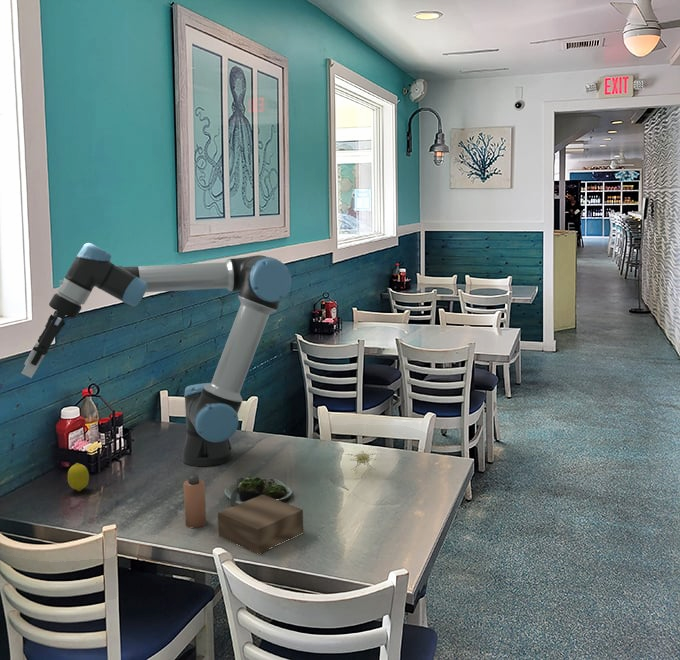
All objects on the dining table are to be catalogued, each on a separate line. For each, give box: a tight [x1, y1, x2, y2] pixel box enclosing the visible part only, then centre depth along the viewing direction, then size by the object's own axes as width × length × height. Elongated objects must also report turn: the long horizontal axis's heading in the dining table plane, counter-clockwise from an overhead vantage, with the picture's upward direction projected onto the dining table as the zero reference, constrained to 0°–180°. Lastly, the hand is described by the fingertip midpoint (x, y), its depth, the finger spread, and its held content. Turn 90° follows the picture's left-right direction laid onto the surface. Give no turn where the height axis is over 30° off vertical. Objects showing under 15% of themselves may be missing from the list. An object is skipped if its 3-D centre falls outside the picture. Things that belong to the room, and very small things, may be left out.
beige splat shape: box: [346, 446, 378, 475], centre depth 216 cm, size 10×13×8 cm
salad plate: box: [224, 476, 294, 506], centre depth 202 cm, size 19×18×5 cm
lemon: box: [67, 462, 90, 492], centre depth 206 cm, size 6×6×8 cm
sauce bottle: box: [182, 474, 207, 528], centre depth 184 cm, size 5×5×12 cm
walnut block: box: [217, 495, 304, 555], centre depth 178 cm, size 14×14×6 cm
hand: (27, 370), depth 195 cm, fingers open, 13 cm apart
